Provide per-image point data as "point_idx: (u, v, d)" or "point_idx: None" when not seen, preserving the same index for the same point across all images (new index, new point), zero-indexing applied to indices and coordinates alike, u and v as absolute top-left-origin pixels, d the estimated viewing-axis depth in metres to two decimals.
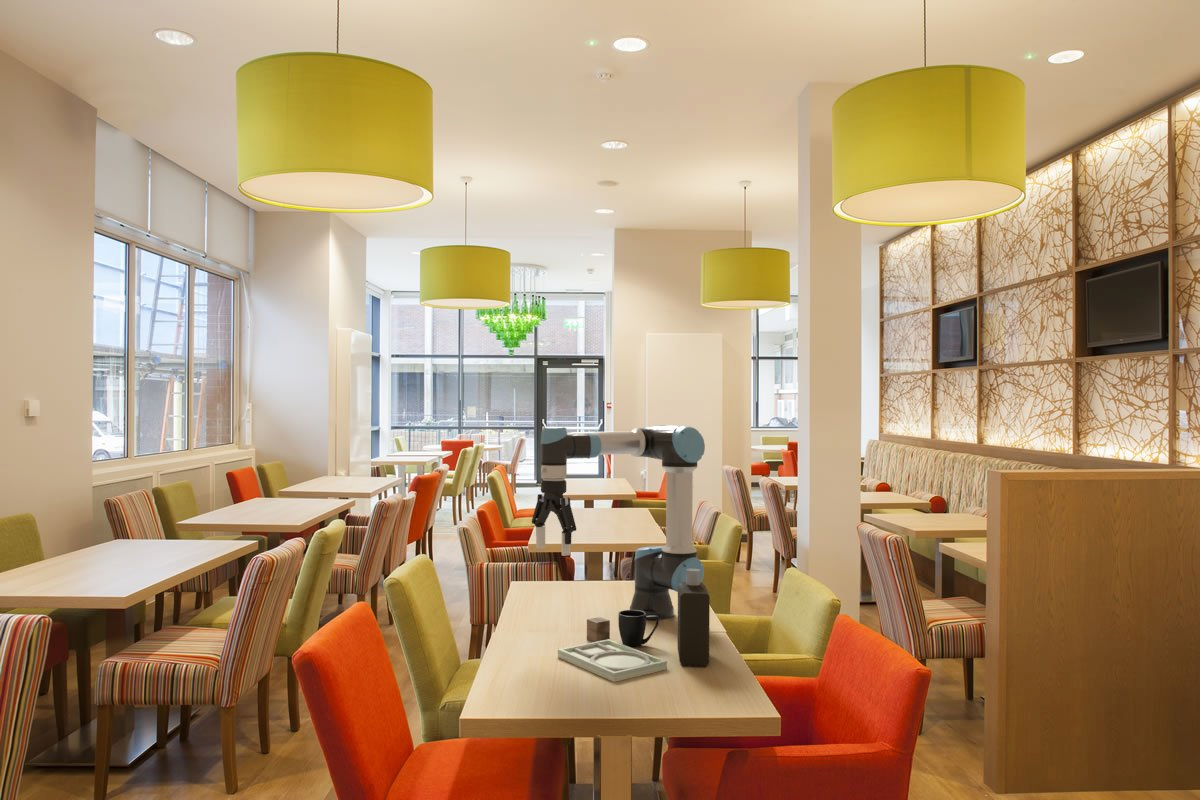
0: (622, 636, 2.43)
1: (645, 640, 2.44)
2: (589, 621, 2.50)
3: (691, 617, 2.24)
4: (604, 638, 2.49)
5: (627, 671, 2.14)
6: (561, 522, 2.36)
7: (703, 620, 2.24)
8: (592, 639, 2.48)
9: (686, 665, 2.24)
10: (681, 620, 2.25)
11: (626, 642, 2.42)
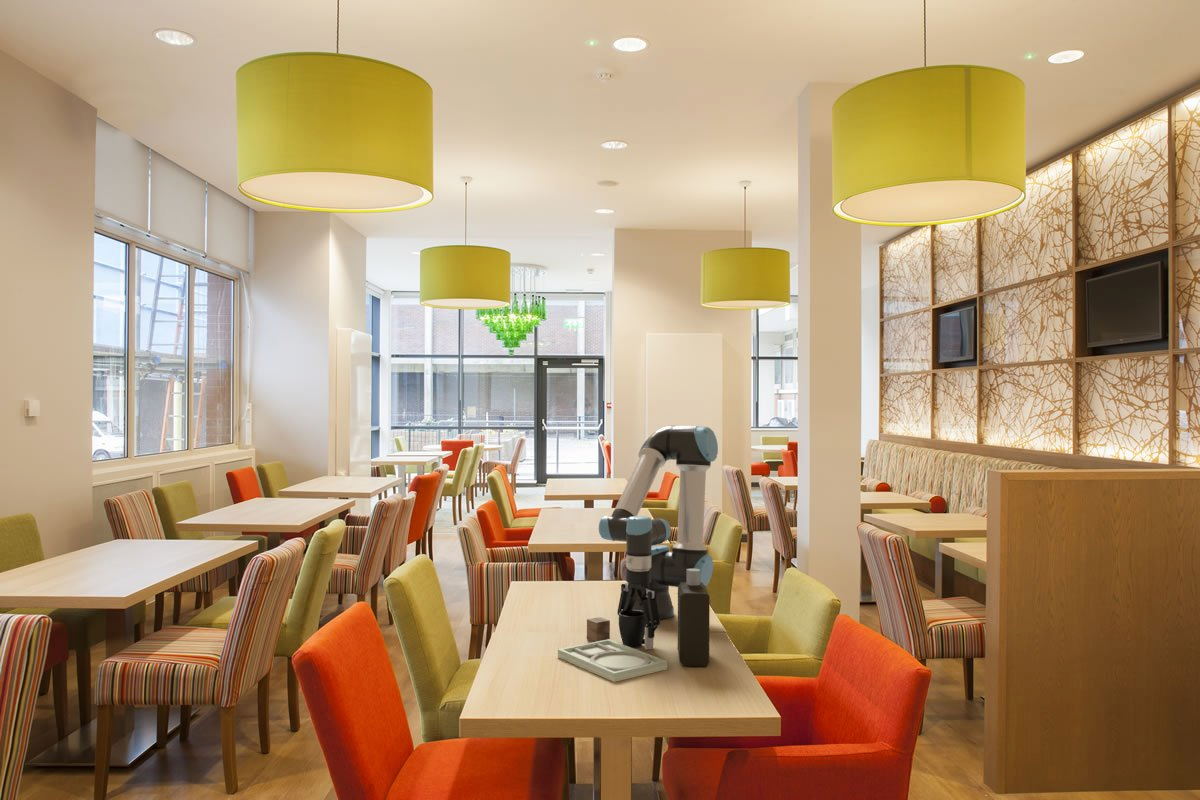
0: (622, 636, 2.42)
1: None
2: (589, 621, 2.50)
3: (691, 617, 2.24)
4: (604, 638, 2.49)
5: (627, 671, 2.14)
6: (645, 615, 2.40)
7: (703, 620, 2.24)
8: (592, 639, 2.48)
9: (686, 665, 2.24)
10: (681, 620, 2.25)
11: (626, 642, 2.42)
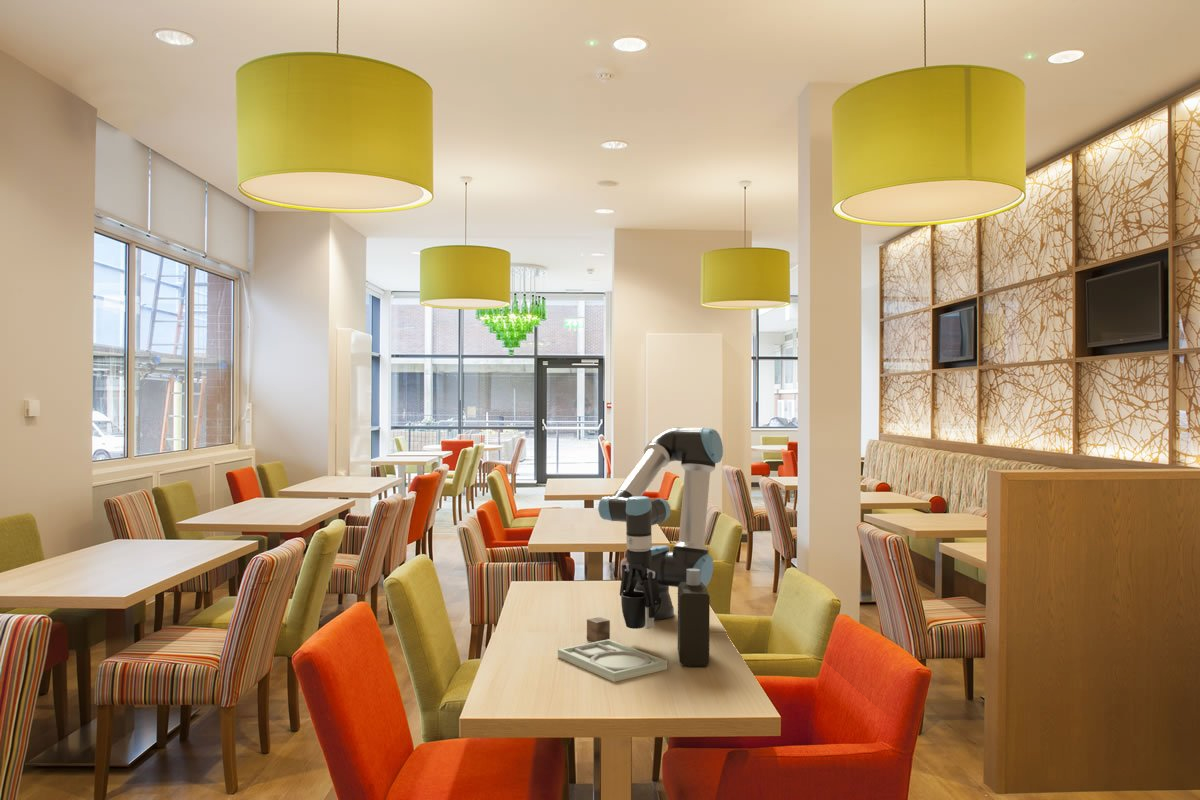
0: (625, 617, 2.42)
1: None
2: (589, 621, 2.50)
3: (691, 617, 2.24)
4: (604, 638, 2.49)
5: (627, 671, 2.14)
6: (646, 595, 2.40)
7: (703, 620, 2.24)
8: (592, 639, 2.48)
9: (686, 665, 2.24)
10: (681, 620, 2.25)
11: (630, 623, 2.42)
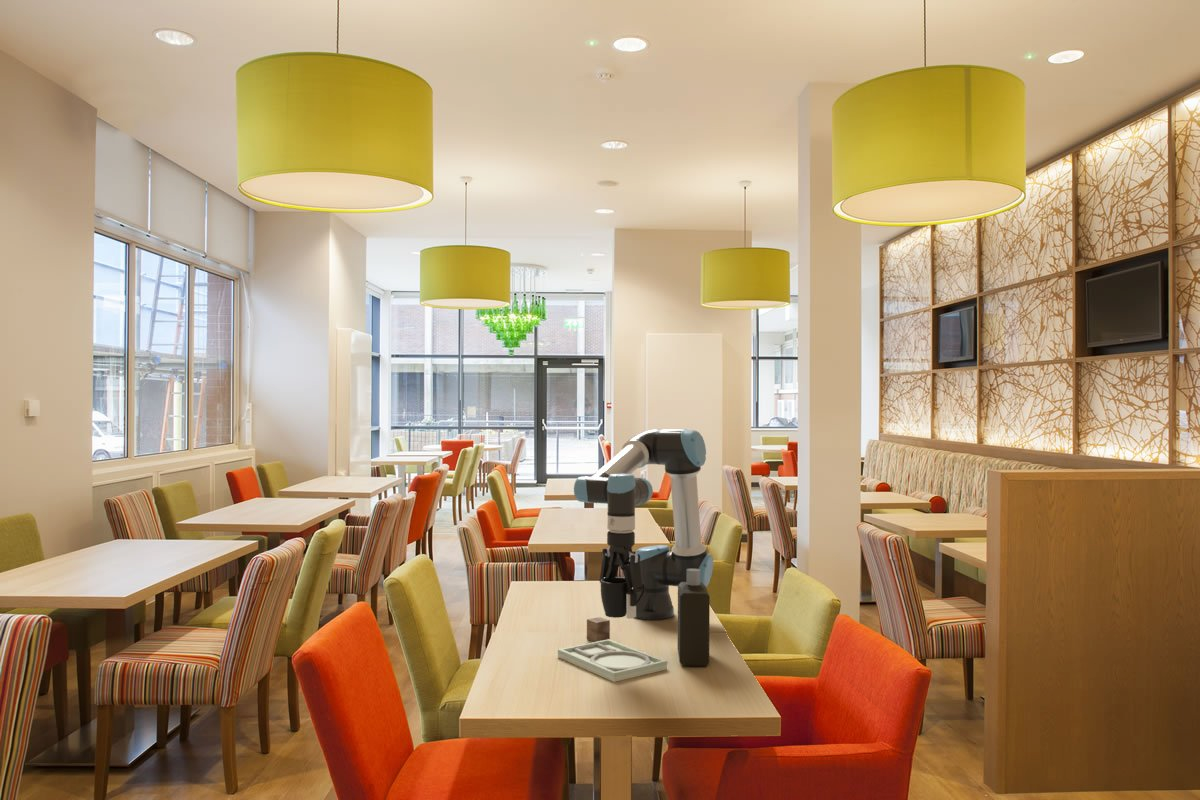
0: (605, 605, 2.21)
1: None
2: (589, 621, 2.50)
3: (691, 617, 2.24)
4: (604, 638, 2.49)
5: (627, 671, 2.14)
6: (627, 581, 2.20)
7: (703, 620, 2.24)
8: (592, 639, 2.48)
9: (686, 665, 2.24)
10: (681, 620, 2.25)
11: (609, 611, 2.21)
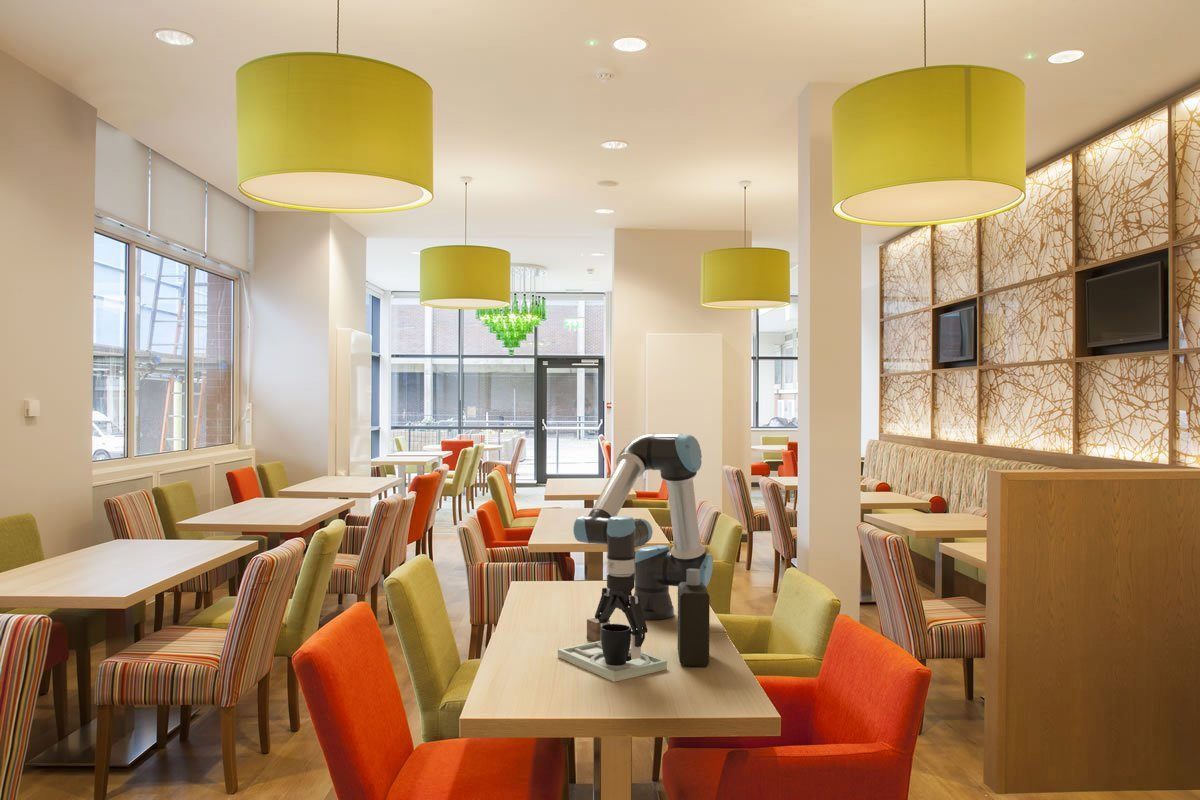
0: (605, 653, 2.21)
1: (630, 657, 2.23)
2: (589, 621, 2.50)
3: (691, 617, 2.24)
4: None
5: (627, 671, 2.14)
6: (630, 622, 2.18)
7: (703, 620, 2.24)
8: (592, 639, 2.48)
9: (686, 665, 2.24)
10: (681, 620, 2.25)
11: (609, 660, 2.21)
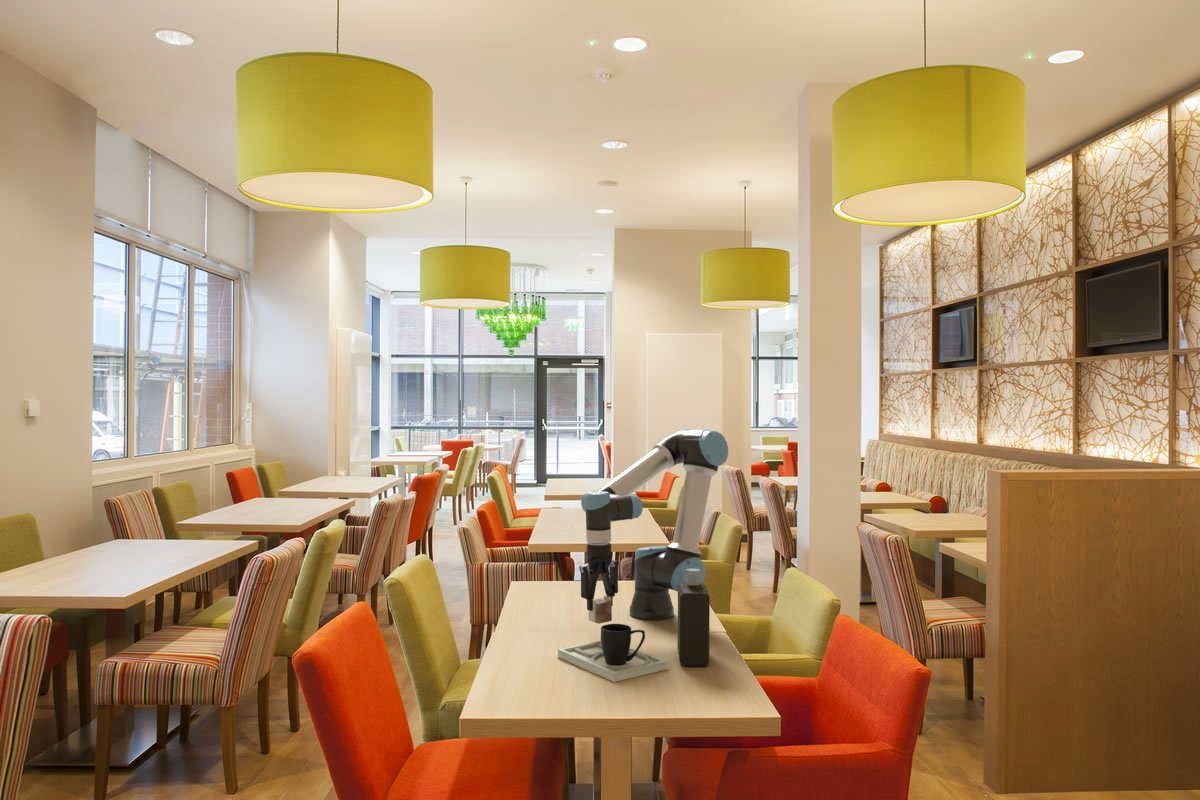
0: (605, 653, 2.21)
1: (630, 657, 2.23)
2: None
3: (691, 617, 2.24)
4: (606, 619, 2.49)
5: (627, 671, 2.14)
6: None
7: (703, 620, 2.24)
8: None
9: (686, 665, 2.24)
10: (681, 620, 2.25)
11: (609, 660, 2.21)
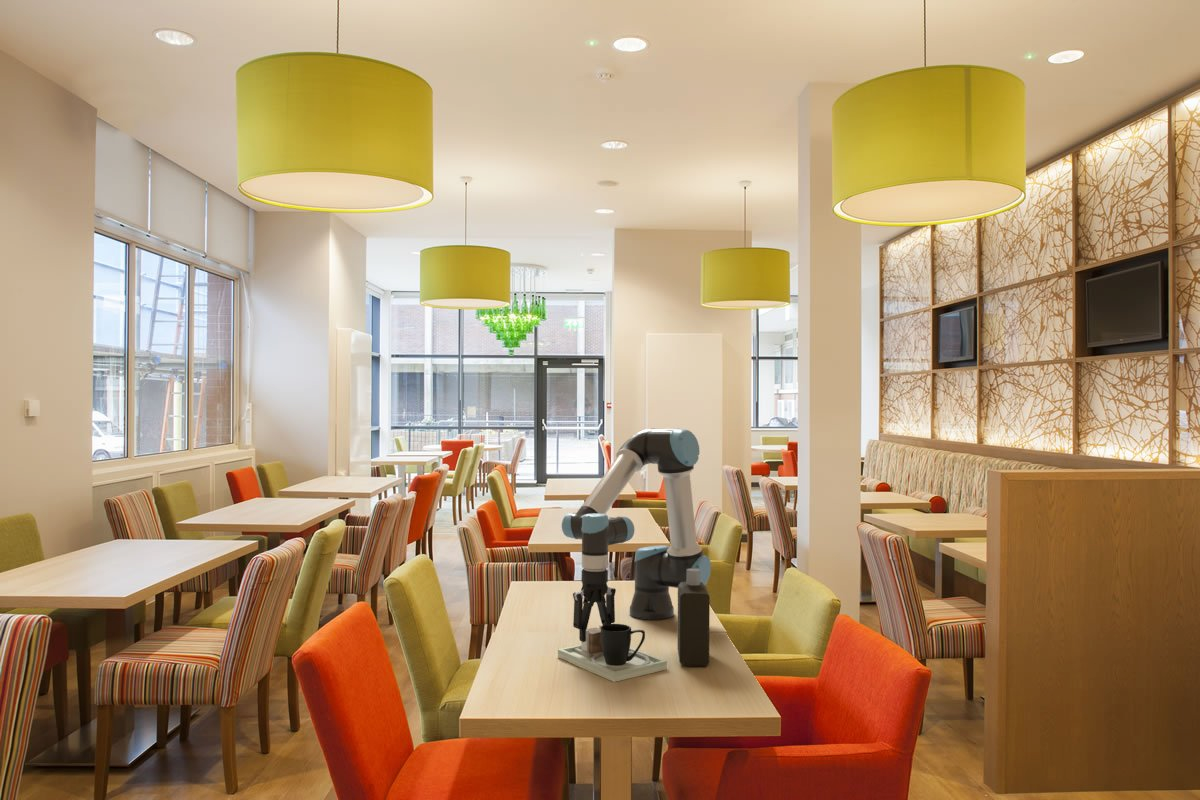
0: (605, 653, 2.21)
1: (630, 657, 2.23)
2: None
3: (691, 617, 2.24)
4: (600, 650, 2.32)
5: (627, 671, 2.14)
6: None
7: (703, 620, 2.24)
8: None
9: (686, 665, 2.24)
10: (681, 620, 2.25)
11: (609, 660, 2.21)
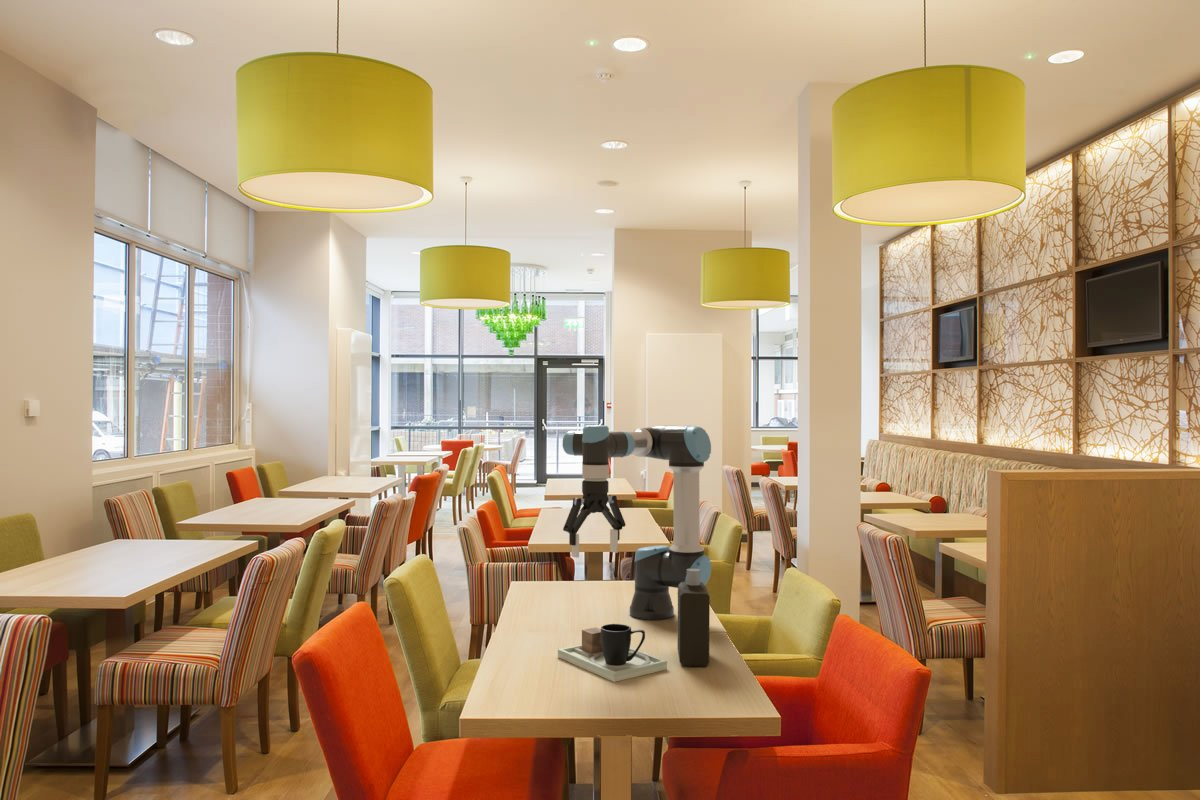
0: (605, 653, 2.21)
1: (630, 657, 2.23)
2: (584, 632, 2.33)
3: (691, 617, 2.24)
4: (600, 650, 2.32)
5: (627, 671, 2.14)
6: None
7: (703, 620, 2.24)
8: (587, 651, 2.31)
9: (686, 665, 2.24)
10: (681, 620, 2.25)
11: (609, 660, 2.21)
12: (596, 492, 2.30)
